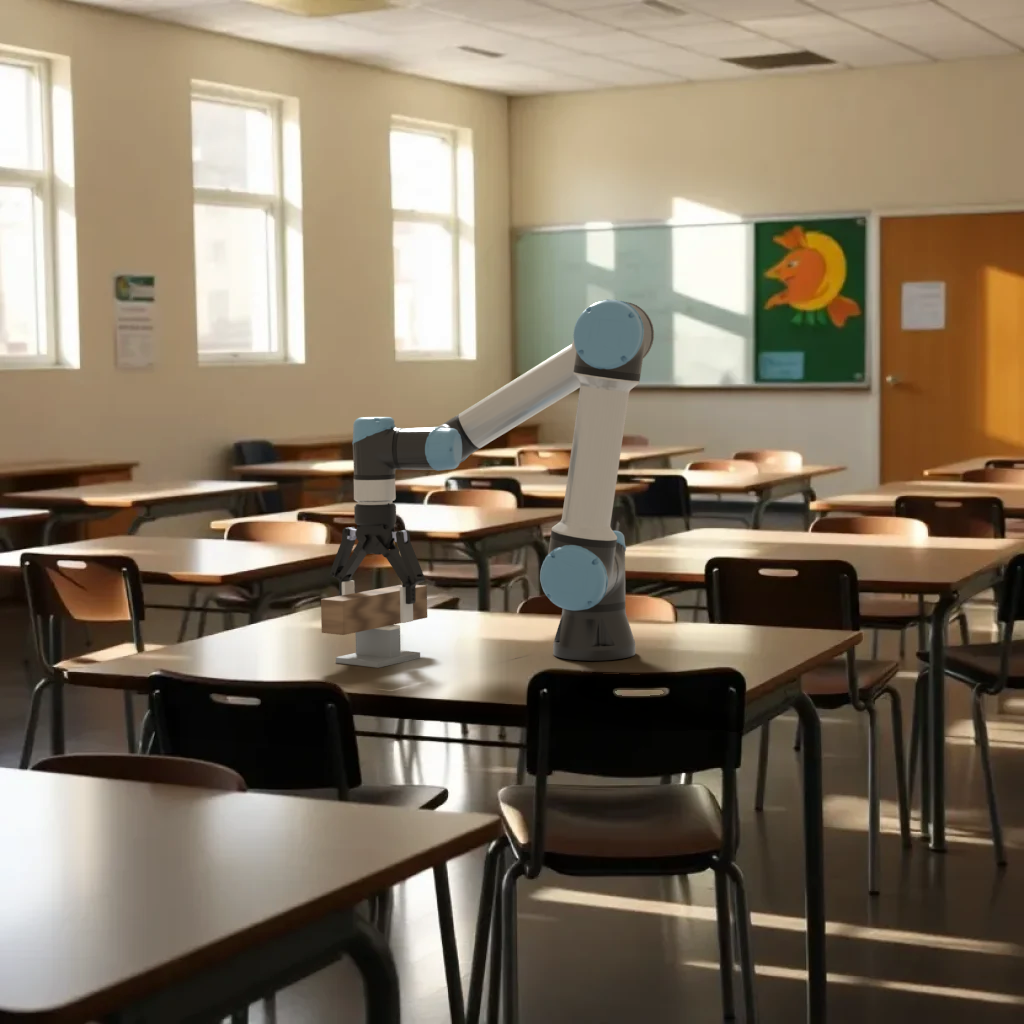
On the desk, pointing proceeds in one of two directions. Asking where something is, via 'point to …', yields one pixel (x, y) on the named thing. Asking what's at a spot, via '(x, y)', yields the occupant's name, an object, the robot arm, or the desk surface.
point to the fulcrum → (378, 648)
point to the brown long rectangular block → (368, 610)
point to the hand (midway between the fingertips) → (377, 619)
